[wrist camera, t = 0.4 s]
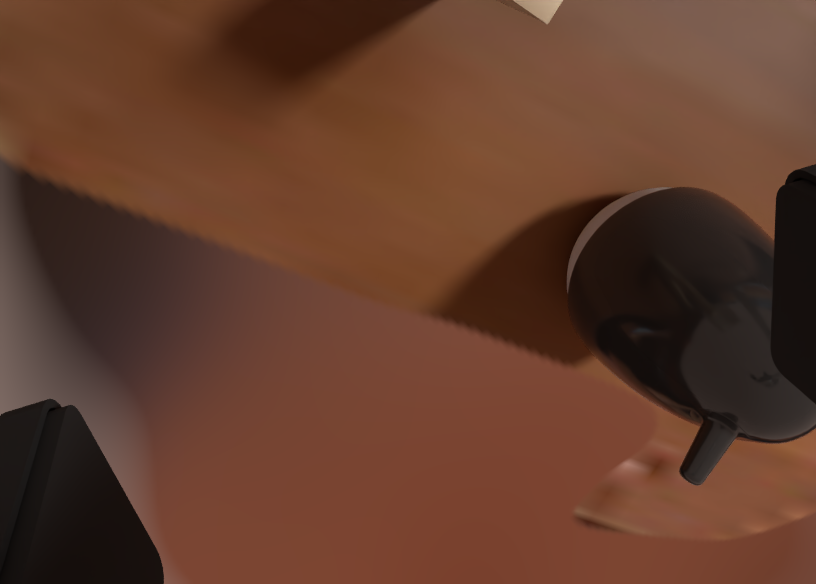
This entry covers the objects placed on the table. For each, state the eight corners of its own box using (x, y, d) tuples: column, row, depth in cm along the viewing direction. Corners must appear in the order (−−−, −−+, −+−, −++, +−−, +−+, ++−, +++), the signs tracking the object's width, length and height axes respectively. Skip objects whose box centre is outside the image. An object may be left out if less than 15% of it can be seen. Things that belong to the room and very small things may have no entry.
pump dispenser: (501, 262, 42) (634, 442, 29) (650, 122, 40) (866, 248, 27) (605, 360, 47) (758, 552, 34) (742, 241, 45) (961, 396, 32)
